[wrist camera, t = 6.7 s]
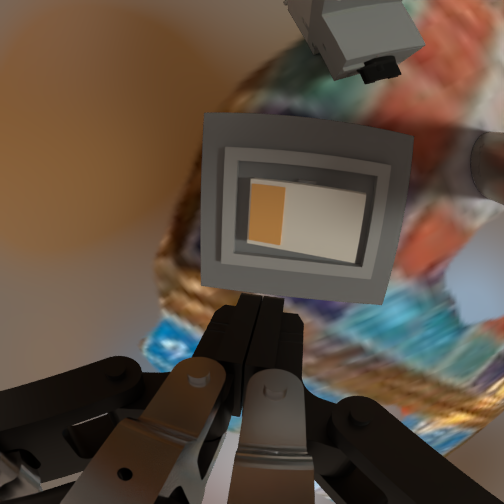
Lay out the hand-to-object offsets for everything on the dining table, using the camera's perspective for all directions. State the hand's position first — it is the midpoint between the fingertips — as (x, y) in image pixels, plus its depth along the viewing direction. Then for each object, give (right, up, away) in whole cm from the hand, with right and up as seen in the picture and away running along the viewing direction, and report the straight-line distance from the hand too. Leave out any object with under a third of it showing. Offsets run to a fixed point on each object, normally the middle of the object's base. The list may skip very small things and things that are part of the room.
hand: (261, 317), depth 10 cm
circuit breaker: (+10, +26, +15) cm, 32 cm away
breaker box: (+5, +8, +22) cm, 24 cm away
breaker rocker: (+4, +5, +15) cm, 16 cm away
